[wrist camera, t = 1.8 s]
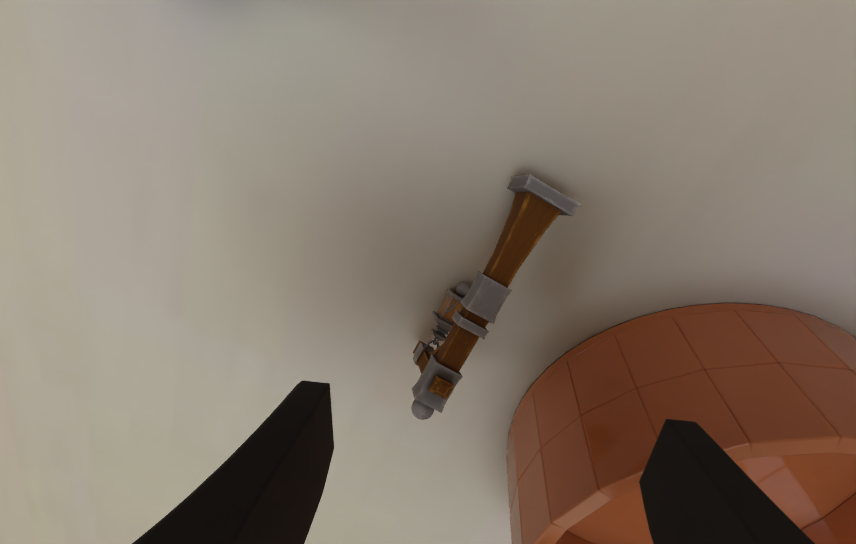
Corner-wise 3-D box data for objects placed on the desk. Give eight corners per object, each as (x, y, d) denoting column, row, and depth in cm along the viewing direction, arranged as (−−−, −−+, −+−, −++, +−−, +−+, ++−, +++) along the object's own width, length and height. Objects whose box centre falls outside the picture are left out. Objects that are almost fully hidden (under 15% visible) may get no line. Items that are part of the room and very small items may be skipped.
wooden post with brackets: (387, 364, 18) (392, 417, 14) (491, 179, 18) (531, 173, 13) (428, 384, 18) (446, 443, 14) (531, 204, 18) (584, 205, 13)
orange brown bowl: (987, 324, 16) (1232, 478, 11) (792, 570, 24) (880, 730, 18) (538, 283, 17) (564, 407, 12) (488, 533, 24) (491, 676, 19)
